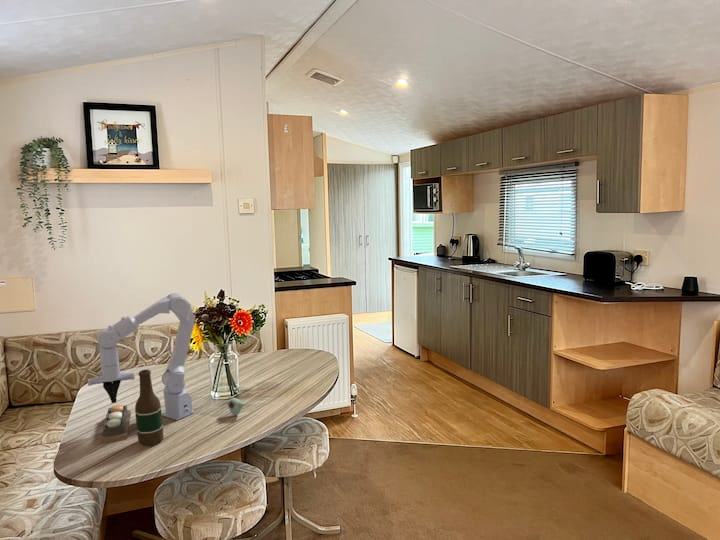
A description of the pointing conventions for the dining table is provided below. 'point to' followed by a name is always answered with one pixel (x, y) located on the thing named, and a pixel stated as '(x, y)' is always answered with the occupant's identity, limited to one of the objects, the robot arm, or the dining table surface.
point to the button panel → (118, 431)
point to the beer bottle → (148, 413)
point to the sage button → (113, 423)
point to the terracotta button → (117, 408)
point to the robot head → (235, 405)
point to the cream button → (115, 415)
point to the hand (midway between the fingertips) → (114, 402)
